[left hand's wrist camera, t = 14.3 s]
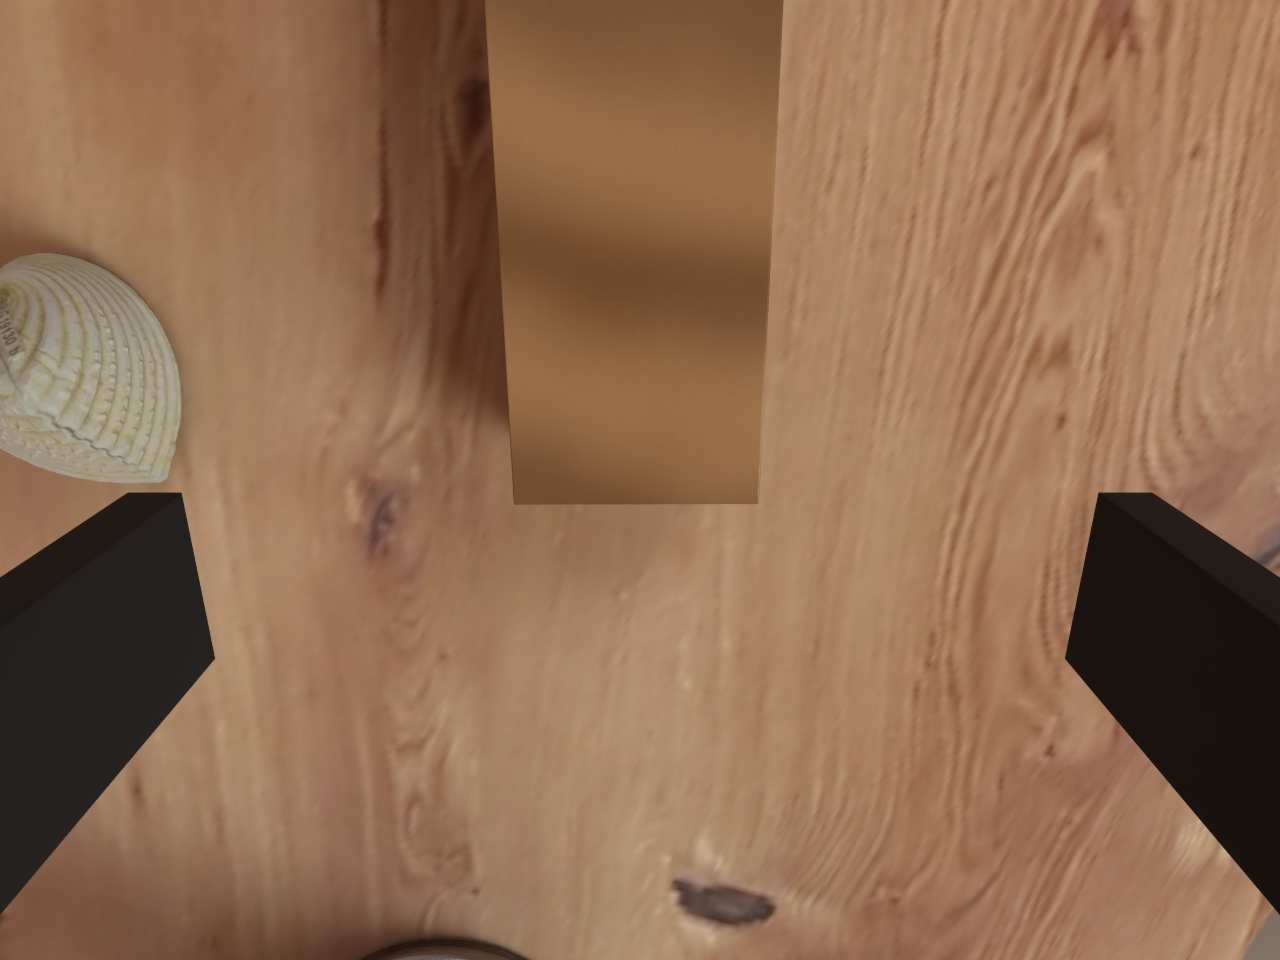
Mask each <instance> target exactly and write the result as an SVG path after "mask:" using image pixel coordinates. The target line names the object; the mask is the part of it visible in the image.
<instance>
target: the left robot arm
mask: <svg viewBox="0 0 1280 960" xmlns="http://www.w3.org/2000/svg"><path fill="white" fill-rule="evenodd" d="M214 659H215V656H214V651H213V646H212V641H211V636H210V631H209V626H208V621H207V616H206V611H205V606H204V601H203V597H202V592H201V587H200V582H199V577H198V572H197V567H196V562H195V557H194V552H193V547H192V542H191V537H190V532H189V527H188V523H187V518H186V513H185V508H184V503H183V498H182V493H127V494H125V495H124V496H122V497H121V498H119V499H118V500H116V501H115V502H113V503H112V504H110V505H109V506H107V507H106V508H104V509H103V510H101V511H100V512H98V513H97V514H95V515H94V516H92V517H91V518H89V519H87V520H86V521H84V522H83V523H81V524H80V525H78V526H77V527H75V528H74V529H72V530H71V531H69V532H68V533H66V534H65V535H63V536H62V537H60V538H59V539H57V540H56V541H54V542H53V543H51V544H50V545H48V546H47V547H45V548H44V549H42V550H41V551H39V552H38V553H36V554H35V555H33V556H32V557H30V558H29V559H27V560H26V561H24V562H23V563H21V564H20V565H18V566H17V567H15V568H14V569H12V570H11V571H9V572H8V573H6V574H5V575H3V576H2V577H0V914H1V913H2V912H3V911H4V910H5V908H6V907H7V906H8V905H9V904H10V902H11V901H12V900H13V899H14V898H15V896H16V895H17V894H18V893H19V892H20V890H21V889H22V888H23V887H24V886H25V885H26V883H27V882H28V881H29V880H30V879H31V877H32V876H33V875H34V874H35V873H36V871H37V870H38V869H39V868H40V867H41V865H42V864H43V863H44V862H45V861H46V860H47V858H48V857H49V856H50V855H51V854H52V852H53V851H54V850H55V849H56V848H57V846H58V845H59V844H60V843H61V842H62V840H63V839H64V838H65V837H66V836H67V834H68V833H69V832H70V831H71V830H72V829H73V827H74V826H75V825H76V824H77V823H78V821H79V820H80V819H81V818H82V817H83V815H84V814H85V813H86V812H87V811H88V809H89V808H90V807H91V806H92V805H93V803H94V802H95V801H96V800H97V799H98V798H99V796H100V795H101V794H102V793H103V792H104V790H105V789H106V788H107V787H108V786H109V784H110V783H111V782H112V781H113V780H114V778H115V777H116V776H117V775H118V774H119V773H120V771H121V770H122V769H123V768H124V767H125V765H126V764H127V763H128V762H129V761H130V759H131V758H132V757H133V756H134V755H135V753H136V752H137V751H138V750H139V749H140V747H141V746H142V745H143V744H144V743H145V742H146V740H147V739H148V738H149V737H150V736H151V734H152V733H153V732H154V731H155V730H156V728H157V727H158V726H159V725H160V724H161V722H162V721H163V720H164V719H165V718H166V716H167V715H168V714H169V713H170V712H171V711H172V709H173V708H174V707H175V706H176V705H177V703H178V702H179V701H180V700H181V699H182V697H183V696H184V695H185V694H186V693H187V691H188V690H189V689H190V688H191V687H192V686H193V684H194V683H195V682H196V681H197V680H198V678H199V677H200V676H201V675H202V674H203V672H204V671H205V670H206V669H207V668H208V666H209V665H210V664H211V663H212V662H213V660H214ZM1065 659H1066V660H1067V662H1068V663H1069V664H1070V665H1071V666H1072V668H1073V669H1074V670H1075V671H1076V672H1077V674H1078V675H1079V676H1080V677H1081V678H1082V680H1083V681H1084V682H1085V683H1086V684H1087V686H1088V687H1089V688H1090V689H1091V690H1092V691H1093V693H1094V694H1095V695H1096V696H1097V697H1098V699H1099V700H1100V701H1101V702H1102V703H1103V705H1104V706H1105V707H1106V708H1107V709H1108V711H1109V712H1110V713H1111V714H1112V715H1113V716H1114V718H1115V719H1116V720H1117V721H1118V722H1119V724H1120V725H1121V726H1122V727H1123V728H1124V730H1125V731H1126V732H1127V733H1128V734H1129V736H1130V737H1131V738H1132V739H1133V740H1134V742H1135V743H1136V744H1137V745H1138V746H1139V747H1140V749H1141V750H1142V751H1143V752H1144V753H1145V755H1146V756H1147V757H1148V758H1149V759H1150V761H1151V762H1152V763H1153V764H1154V765H1155V767H1156V768H1157V769H1158V770H1159V771H1160V773H1161V774H1162V775H1163V776H1164V777H1165V778H1166V780H1167V781H1168V782H1169V783H1170V784H1171V786H1172V787H1173V788H1174V789H1175V790H1176V792H1177V793H1178V794H1179V795H1180V796H1181V798H1182V799H1183V800H1184V801H1185V802H1186V803H1187V805H1188V806H1189V807H1190V808H1191V809H1192V811H1193V812H1194V813H1195V814H1196V815H1197V817H1198V818H1199V819H1200V820H1201V821H1202V823H1203V824H1204V825H1205V826H1206V827H1207V829H1208V830H1209V831H1210V832H1211V833H1212V834H1213V836H1214V837H1215V838H1216V839H1217V840H1218V842H1219V843H1220V844H1221V845H1222V846H1223V848H1224V849H1225V850H1226V851H1227V852H1228V854H1229V855H1230V856H1231V857H1232V858H1233V860H1234V861H1235V862H1236V863H1237V864H1238V865H1239V867H1240V868H1241V869H1242V870H1243V871H1244V873H1245V874H1246V875H1247V876H1248V877H1249V879H1250V880H1251V881H1252V882H1253V883H1254V885H1255V886H1256V887H1257V888H1258V889H1259V890H1260V892H1261V893H1262V894H1263V895H1264V896H1265V898H1266V899H1267V900H1268V901H1269V902H1270V904H1271V905H1272V906H1273V907H1274V908H1275V910H1276V911H1277V912H1278V913H1279V914H1280V577H1278V576H1277V575H1275V574H1274V573H1272V572H1271V571H1269V570H1268V569H1266V568H1265V567H1263V566H1262V565H1260V564H1259V563H1257V562H1256V561H1254V560H1253V559H1251V558H1250V557H1248V556H1247V555H1245V554H1244V553H1242V552H1241V551H1239V550H1238V549H1236V548H1235V547H1233V546H1232V545H1230V544H1229V543H1227V542H1226V541H1224V540H1223V539H1221V538H1220V537H1218V536H1217V535H1215V534H1214V533H1212V532H1211V531H1209V530H1208V529H1206V528H1205V527H1203V526H1202V525H1200V524H1199V523H1197V522H1196V521H1194V520H1193V519H1191V518H1189V517H1188V516H1186V515H1185V514H1183V513H1182V512H1180V511H1179V510H1177V509H1176V508H1174V507H1173V506H1171V505H1170V504H1168V503H1167V502H1165V501H1164V500H1162V499H1161V498H1159V497H1158V496H1156V495H1155V494H1153V493H1098V498H1097V503H1096V508H1095V513H1094V518H1093V523H1092V527H1091V532H1090V537H1089V542H1088V547H1087V552H1086V557H1085V562H1084V567H1083V572H1082V577H1081V582H1080V587H1079V592H1078V597H1077V601H1076V606H1075V611H1074V616H1073V621H1072V626H1071V631H1070V636H1069V641H1068V646H1067V651H1066V656H1065ZM362 960H523V959H521V958H519V957H517V956H515V955H512V954H510V953H507V952H505V951H502V950H499V949H496V948H493V947H489V946H485V945H481V944H476V943H471V942H464V941H454V940H427V941H418V942H411V943H406V944H401V945H397V946H393V947H390V948H387V949H384V950H381V951H379V952H376V953H374V954H372V955H370V956H368V957H366V958H364V959H362Z"/></svg>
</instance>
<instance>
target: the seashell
mask: <svg viewBox="0 0 1280 960" xmlns="http://www.w3.org/2000/svg"><path fill="white" fill-rule="evenodd" d="M181 412H182V400H181V390H180V378H179V371H178V365H177V362H176V359H175V356H174V353H173V351H172V348H171V345H170V343H169V341H168V339H167V337H166V334H165V332H164V330H163V328H162V326H161V325H160V323H159V321H158V320H157V318H156V316H155V315H154V314H153V312H152V311H151V310H150V308H149V307H148V306H147V305H146V303H145V302H144V301H143V300H142V299H141V298H140V297H139V296H138V295H137V294H136V292H135V291H134V290H132V289H131V288H130V287H129V286H128V285H127V284H125V283H124V282H123V281H121V280H120V279H119V278H117V277H116V276H114V275H113V274H111V273H110V272H108V271H106V270H105V269H103V268H101V267H99V266H97V265H94V264H92V263H90V262H87V261H85V260H82V259H79V258H75V257H71V256H67V255H62V254H54V253H36V254H31V255H25V256H20V257H18V258H16V259H14V260H12V261H9V262H8V263H6V264H5V265H4V266H2V267H1V268H0V448H1V449H2V450H4V451H6V452H7V453H9V454H11V455H13V456H14V457H17V458H19V459H22V460H24V461H26V462H28V463H31V464H33V465H35V466H37V467H40V468H43V469H46V470H49V471H52V472H55V473H58V474H62V475H66V476H70V477H75V478H80V479H87V480H92V481H97V482H111V483H160V482H163V481H165V480H166V479H167V477H168V474H169V470H170V466H171V462H172V458H173V456H174V453H175V442H176V439H177V436H178V430H179V427H180V421H181Z"/></svg>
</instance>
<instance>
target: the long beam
mask: <svg viewBox="0 0 1280 960" xmlns="http://www.w3.org/2000/svg"><path fill="white" fill-rule="evenodd" d="M484 8H485V25H486V42H487V58H488V75H489V92H490V109H491V126H492V142H493V159H494V176H495V193H496V209H497V226H498V243H499V260H500V277H501V293H502V310H503V327H504V344H505V360H506V377H507V394H508V411H509V428H510V444H511V461H512V478H513V495H514V504H758V503H759V488H760V467H761V447H762V427H763V406H764V386H765V365H766V345H767V325H768V304H769V284H770V264H771V243H772V223H773V202H774V182H775V162H776V141H777V121H778V101H779V80H780V60H781V39H782V19H783V0H484Z"/></svg>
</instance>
